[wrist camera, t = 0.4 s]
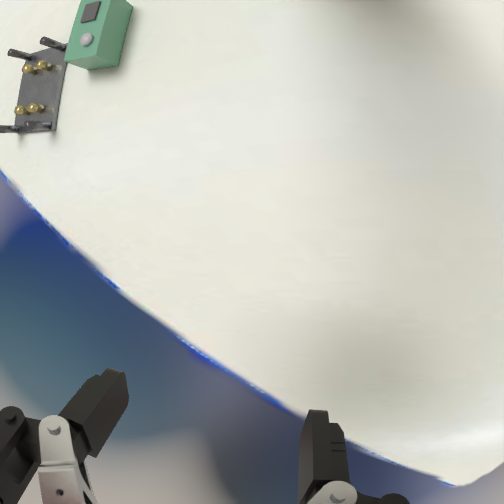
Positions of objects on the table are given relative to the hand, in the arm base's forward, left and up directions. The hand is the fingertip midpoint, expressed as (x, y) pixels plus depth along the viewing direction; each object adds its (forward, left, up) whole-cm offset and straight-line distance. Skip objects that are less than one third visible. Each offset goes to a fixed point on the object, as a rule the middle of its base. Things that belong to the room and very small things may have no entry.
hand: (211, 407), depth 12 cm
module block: (-27, -26, -28) cm, 46 cm away
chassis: (-20, -38, -28) cm, 51 cm away
